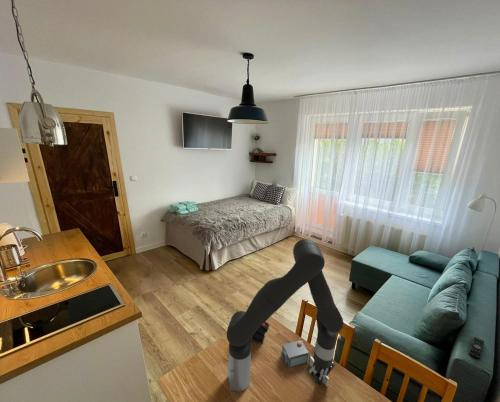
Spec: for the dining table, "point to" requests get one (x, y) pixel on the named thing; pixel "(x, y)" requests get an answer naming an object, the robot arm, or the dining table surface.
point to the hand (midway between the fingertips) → (318, 383)
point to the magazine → (260, 333)
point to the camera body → (294, 353)
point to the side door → (310, 362)
